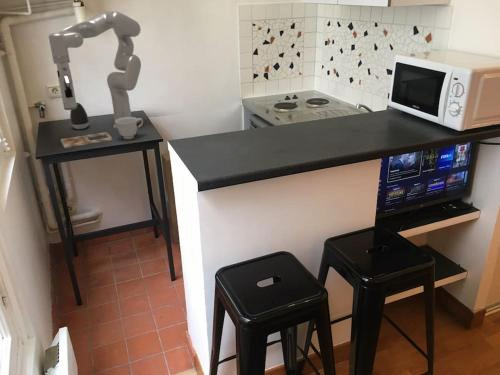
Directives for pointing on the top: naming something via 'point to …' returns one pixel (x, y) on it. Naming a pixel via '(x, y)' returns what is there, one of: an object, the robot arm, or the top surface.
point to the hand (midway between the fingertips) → (68, 95)
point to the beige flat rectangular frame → (79, 140)
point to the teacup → (128, 126)
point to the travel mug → (67, 102)
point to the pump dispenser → (79, 117)
